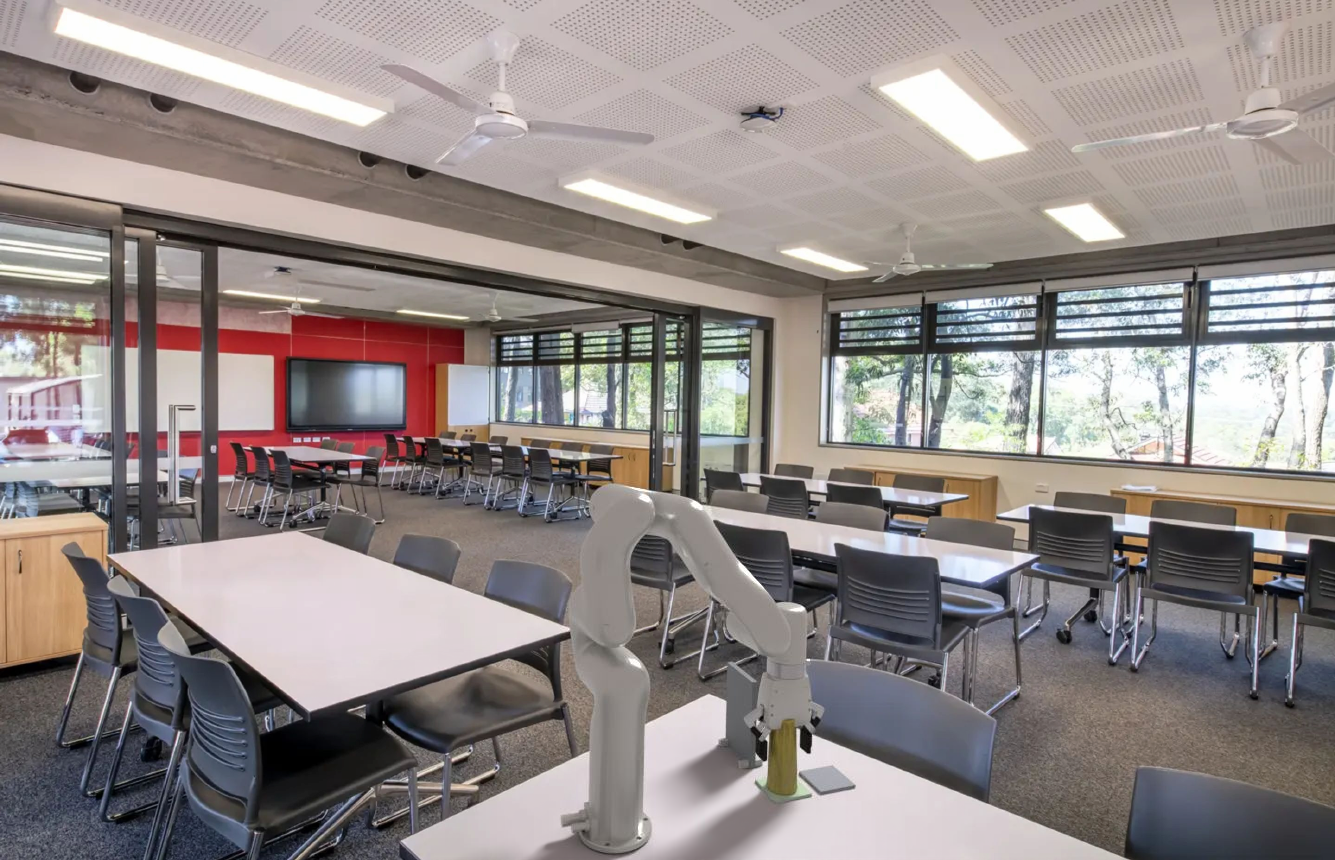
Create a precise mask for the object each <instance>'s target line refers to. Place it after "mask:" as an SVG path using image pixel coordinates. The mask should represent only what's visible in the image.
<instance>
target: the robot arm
mask: <svg viewBox="0 0 1335 860" xmlns="http://www.w3.org/2000/svg"><path fill="white" fill-rule="evenodd" d="M588 510H589V511H588V512H589V515H590V518H591V519H592V520H593V522H594V523H593V525H592V526H591V527H590V529H589V531H588V532H587V534H586V536H585V538H584V540H583V543H582V546H581V549H580V554H579V556H580V558H579V569H580V580H581V581H580V582H581V583H580V585H578V586H577V587H576V588H575V589H574V591H573V593H572V594H571V596H570V599H569V602H568V609H567V610H568V611H567V616H568V624H569V633H570V639H571V646H572V647H571V648H572V653H573V654H572V655H573V661H574V665H575V670H576V673H577V675H578V677H579V679H580V680H581V681H582V683H583V684H584V685H585V686H586V688H588V690H589V691H590V693H591V694H592V696H593V700H594V701H593V702H594V704H593V709H592V710H593V712H592V714H591V718H590V725H589V755H588V756H589V760H588V761H589V762H588V763H589V765H588V766H589V767H588V768H589V769H588V801H585V802H583V809H579V810H578V812H574V813H572V812H570V813H566V814H565V813H564V814H560V827H561V828H568V827H570V830H571V834H572V833H573V834H574V833H578V834H579V838H580V840H581V842H582V843H583V844H584V845H585V846H587V847H588V848H589V849H592V850H594V851H595V852H600V853H605V854H624V853H629V852H631V851H634V850H637V849H639V848H641V847H642V846H643V845H645V844H646V843H647V842H648V841H649V839H650V838H651V835H652V829H653V828H652V827H653V825H652V821H651V819H650V818H649V816H648V815H647V813H645V812H644V781H645V779H644V778H645V777H644V776H645V775H644V774H645V735H646V734H645V732H646V728H645V727H646V716H647V709H648V703H649V698H650V693H651V680H650V676H649V675H650V674H649V672H648V670H647V668H646V667H645V665H644V663H643V662H642V661H641V660H640V659H639V658H638V656H636V655H635V654H634V653H633V652H632V651H631V650H629V649H628V648H626V647H625V645H626V644H628V643H629V642H630V641H631V640H632V638H633V636H634V634H635V632H636V627H637V613H636V612H637V611H636V607H635V600H634V592H633V584H632V579H631V578H632V577H631V575H632V574H631V558H632V554H633V551H634V549H635V547H636V545H637V544H638V543H639V542H640V541H641V539H642V538H643V537H644V536H645V535H649V536H657V537H660V538H663V539H665V540H668V542H669V543H670V544H671V546H672V547H673V548H674V550H675V552H676V553H677V555H678V556H679V557H680V559H681V560H682V562H683V563H684V564H685V567H686V568H687V570H688V571H689V572H690V574H691V575H692V577H693V578H694V580H695V582H697V584H698V585H699V586H700V587H701V588H702V589H703V590H704V591H705V593H707V595H709V596H710V597H712V598H713V599H714V600H716V601H717V602H718V603H720V604H721V605H723V606H724V607H725V608H726V609H727V610H728V611H729V612H728V614H727V616H726V619H725V622H726V623H725V625H726V629H727V631H728V633H729V634H730V636H731V637H732V638H733V639H734V640H735V641H737V642H739V643H740V644H742V645H744V646H746V647H748V648H749V649H751V650H753V651H754V652H756V653H758V654H759V655H761V656H763V657H766V671H765V672H763V673H762V675H761V680H760V683H759V688H758V692H757V708H756V709H754V710H753V711H752V712H750V713H749V714H747V715H746V716H745V717H744V721H745V723H746V725H747V727H748V729H749V730H750V731H751V732H752V733H753V734H754V735H755V736H756V745H755V752H756V756H757V757H759V758H760V759H761V760H762V761H763V762H768V748H769V741H768V740H766V739H767V737H769V733H770V732H771V730H778V729H781V724H782V721H783V720H791V719H795V727H797V728H798V727H800V729H799V748H800V749H801V750H802V751H804V753H806V754H807V755H811V753H812V747H813V734H814V733H815V732H816V728H817V726H818V725H819V724H820V723H821V718H822V717H823V715H824V712H825V707H823V706H822V705H820V704H819V703H816V702H814V701H812V690H811V684H810V680H809V675H808V673H807V668H808V667H810V666H812V663H811V662H812V661H811V660H810V659H809V658H807V645H808V644H807V643H808V642H807V640H808V636H807V635H808V611H807V609H806V607H804V606H803V605H802V604H798V603H795V602H788V601H780V602H776V601H775V600H774V599H773V597H772V595H770V593H769V592H768V591H767V590H766V588H764V586H763V585H762V584H761V583H760V582H759V581H758V580H757V579H756V577H754V575H753V574H752V573H751V572H750V571H749V570H748V568H747V567H746V566H744V564H743V563H741V562H740V560H739V559H738V558H737V557H736V555H735V554H734V553H733V551H732V549H731V548H730V546H729V545H728V543H727V541H726V539H725V537H723V535H722V534H721V532H720V531H719V529H718V527H717V526H716V525H715V523H714V521H713V520H712V518H711V516H710V515H709V514H708V512H707V511H706V509H705V508H704V507H703V506H702V504H700V502H699V501H697V500H694V499H693V498H690V497H687V496H682V495H679V494H674V493H669V492H662V491H655V490H649V489H644V488H639V487H636V486H635V487H634V486H628V485H624V484H619V483H607V484H604V485H602V486H600V487H598V488H597V489H595V491H594V492H593V493H592V495H591V497H590V499H589V502H588ZM812 710H813V713H812ZM756 719H757V721H758V724H756V727H755V724H754V721H755V720H756Z"/></svg>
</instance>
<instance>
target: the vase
mask: <svg viewBox="0 0 1335 860" xmlns="http://www.w3.org/2000/svg"><path fill="white" fill-rule="evenodd" d="M797 728H798V727H795V719H791V720H783V721H782V724H781V729H778V730H771V732H770V733H769V734H768V752H767V775H766V777H767V782H766V786H767V788H768V789H769V790H770V791H771V792H773V793H776V794H780V795H789V794H793V793H794V792H796V790H797V788H798V786H797V780H798V755H797V754H798V750H797V749H798V747H797V737H798V735H797V734H798V733H797V732H798V731H797Z"/></svg>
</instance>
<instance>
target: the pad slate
mask: <svg viewBox="0 0 1335 860" xmlns="http://www.w3.org/2000/svg"><path fill="white" fill-rule="evenodd" d="M798 774H799V775H800V777H802V778H803V779H804V780H805V781H806V782H807V783H808V784H809V785H810V786H811V787H812V788H813V789H814V790H816V792H817V793H819V794H820V795H824V794H825V795H826V794H829V793H834V792H835V793H836V792H840V791H845V790H848V789H855V788H856V786H857V785H856V783H854V782H853V781H852V780H851V779H850V778H849V777H847V776H846V775H845V774H844V773H842V772H841V771H840V770H839V769H838V768H837V767H835V766H834V765H831V764H830V765H827V766H821V767H816V768H810V769H805V770H799V771H798Z"/></svg>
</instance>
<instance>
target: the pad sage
mask: <svg viewBox="0 0 1335 860" xmlns="http://www.w3.org/2000/svg"><path fill="white" fill-rule="evenodd" d="M754 782H755V783H756V784H757V785H758V787H759V788H760V789H761V790H762V791H763V792H764V793H765V794H766V795H767V796H768V797H769V799H771V801H773V803H774V804H780V803H783V802H789V801H794V800H800V799H805V798H808V797H809V798H811V797H812V796H813V793H812V792H811V791H810V790H809V789H808V788H807V787H806V786H805V785H804V784H802V783H801V781H799V779H797V786H798V788H797V790H796V792H794V793H793V794H789V795H780V794H776V793H773V792H771V791H770V790H769V789H768V788H767V786H766V782H767V776H766V777H761V778H757V779H755V781H754Z"/></svg>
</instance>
